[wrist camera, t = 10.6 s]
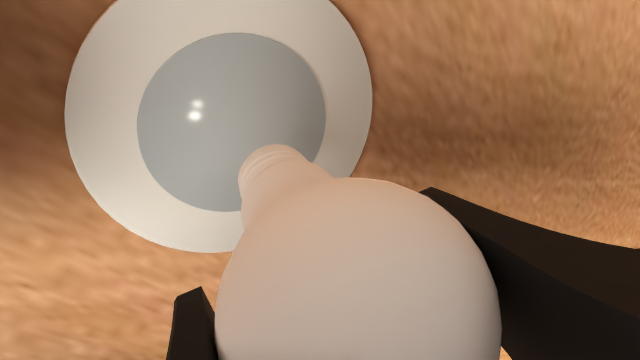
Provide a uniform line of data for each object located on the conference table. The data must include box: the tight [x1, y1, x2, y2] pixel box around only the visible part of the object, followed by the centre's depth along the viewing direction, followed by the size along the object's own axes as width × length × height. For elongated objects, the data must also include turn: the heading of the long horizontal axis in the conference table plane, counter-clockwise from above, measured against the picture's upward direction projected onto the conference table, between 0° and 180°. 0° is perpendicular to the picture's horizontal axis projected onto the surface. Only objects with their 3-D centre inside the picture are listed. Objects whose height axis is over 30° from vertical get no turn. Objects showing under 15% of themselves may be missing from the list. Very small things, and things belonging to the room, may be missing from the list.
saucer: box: [64, 0, 372, 253], centre depth 20 cm, size 13×13×1 cm
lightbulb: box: [215, 144, 502, 360], centre depth 12 cm, size 6×6×11 cm
